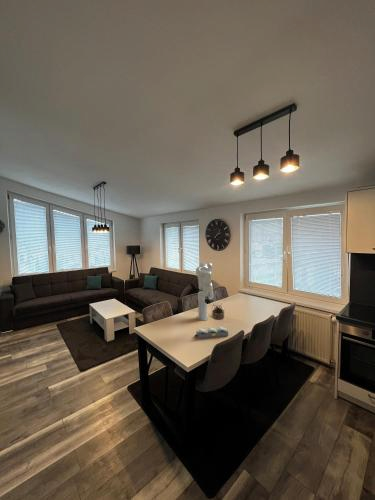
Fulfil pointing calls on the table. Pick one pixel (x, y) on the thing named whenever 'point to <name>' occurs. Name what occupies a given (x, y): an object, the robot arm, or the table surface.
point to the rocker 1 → (202, 330)
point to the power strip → (211, 334)
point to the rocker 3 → (222, 328)
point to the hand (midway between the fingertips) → (206, 302)
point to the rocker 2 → (212, 329)
